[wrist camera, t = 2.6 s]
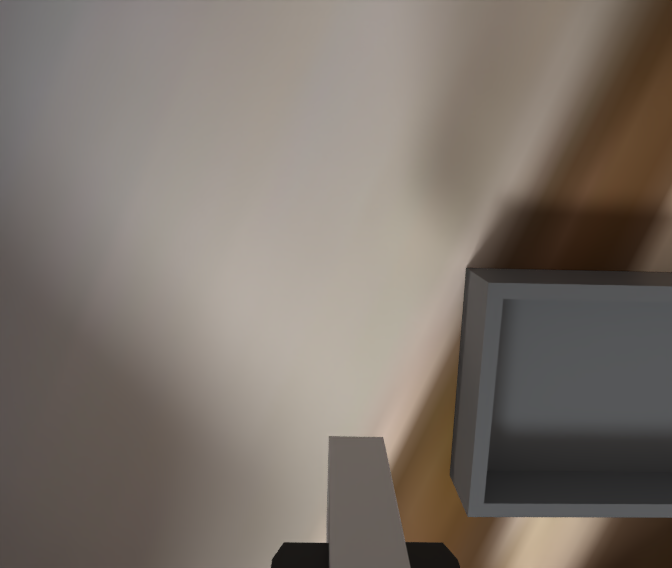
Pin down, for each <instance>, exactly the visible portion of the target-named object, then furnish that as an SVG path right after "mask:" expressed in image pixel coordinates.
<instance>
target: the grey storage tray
mask: <svg viewBox="0 0 672 568" xmlns="http://www.w3.org/2000/svg"><path fill="white" fill-rule="evenodd" d="M450 477H451V479H452V481H453V484H454V486H455V488H456V491H457V493H458V495H459V497H460V500H461V502H462V504H463V507H464V509H465V511H466V514H467V516H468V517H667V518H672V272H631V271H584V270H536V269H489V268H466V277H465V289H464V302H463V315H462V327H461V340H460V353H459V365H458V378H457V391H456V403H455V416H454V429H453V441H452V454H451V467H450Z"/></svg>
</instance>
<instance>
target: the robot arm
mask: <svg viewBox="0 0 672 568" xmlns="http://www.w3.org/2000/svg"><path fill="white" fill-rule="evenodd" d="M271 568H460V565H459V562H458V560H457V558H456V557H455V556H454V555H453V554H452V553H451V552H450V550H449V549H448V548H447V547H446V546H445V545H444V544H443V543H427V542H405V539H404V534H403V529H402V525H401V520H400V515H399V510H398V506H397V501H396V496H395V491H394V486H393V482H392V477H391V472H390V467H389V463H388V458H387V453H386V448H385V444H384V439H383V437H340V436H329V451H328V488H327V543H289V542H284V543H283V545H282V546H281V547H280V549H279V550H278V552H277V553H276V554H275V556H274V557H273V559H272V564H271Z"/></svg>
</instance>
